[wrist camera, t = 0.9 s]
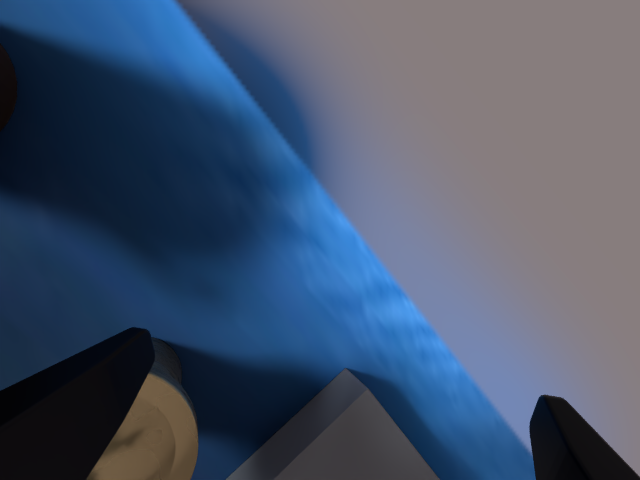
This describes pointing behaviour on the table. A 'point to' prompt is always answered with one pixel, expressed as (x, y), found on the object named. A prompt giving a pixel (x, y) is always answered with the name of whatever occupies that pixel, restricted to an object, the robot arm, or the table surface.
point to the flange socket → (338, 441)
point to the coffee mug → (6, 88)
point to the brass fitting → (154, 429)
